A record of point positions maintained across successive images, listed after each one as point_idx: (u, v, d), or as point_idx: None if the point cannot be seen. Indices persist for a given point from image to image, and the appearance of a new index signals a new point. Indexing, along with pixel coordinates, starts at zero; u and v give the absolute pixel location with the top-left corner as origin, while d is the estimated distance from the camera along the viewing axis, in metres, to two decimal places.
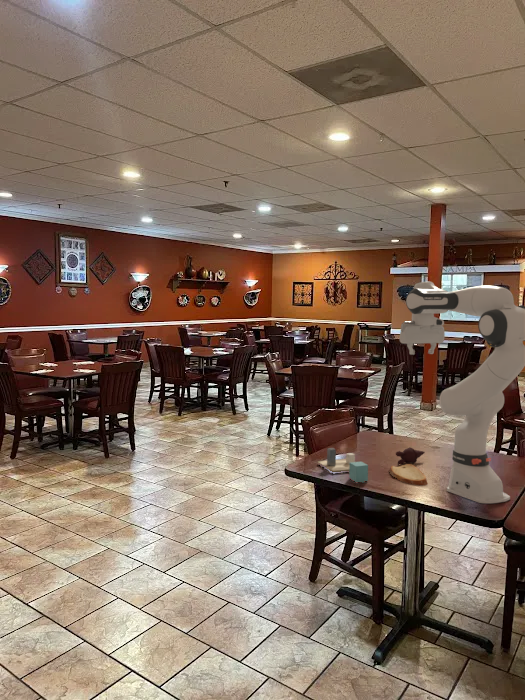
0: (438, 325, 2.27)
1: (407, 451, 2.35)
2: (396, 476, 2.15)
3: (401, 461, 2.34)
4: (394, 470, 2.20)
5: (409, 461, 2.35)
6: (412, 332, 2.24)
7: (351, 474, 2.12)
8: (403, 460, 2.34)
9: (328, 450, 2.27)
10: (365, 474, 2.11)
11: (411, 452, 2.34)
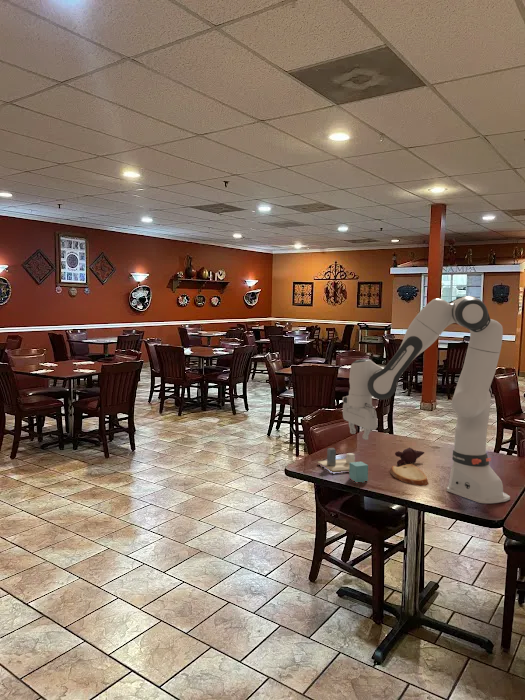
0: None
1: (406, 451, 2.35)
2: (397, 476, 2.15)
3: (400, 461, 2.34)
4: (395, 470, 2.20)
5: (408, 461, 2.34)
6: None
7: (351, 474, 2.12)
8: (402, 460, 2.34)
9: (328, 450, 2.27)
10: (365, 474, 2.11)
11: (410, 453, 2.34)
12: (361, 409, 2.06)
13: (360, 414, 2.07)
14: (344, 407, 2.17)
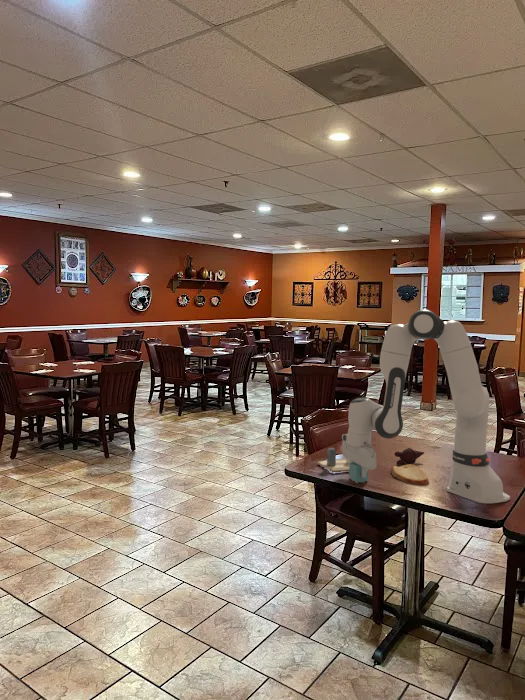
0: None
1: (406, 451, 2.35)
2: (398, 476, 2.15)
3: (400, 461, 2.33)
4: (396, 470, 2.20)
5: (408, 461, 2.34)
6: None
7: (351, 474, 2.12)
8: (402, 460, 2.34)
9: (328, 450, 2.27)
10: None
11: (410, 453, 2.34)
12: (360, 448, 2.07)
13: (359, 453, 2.08)
14: (343, 444, 2.19)
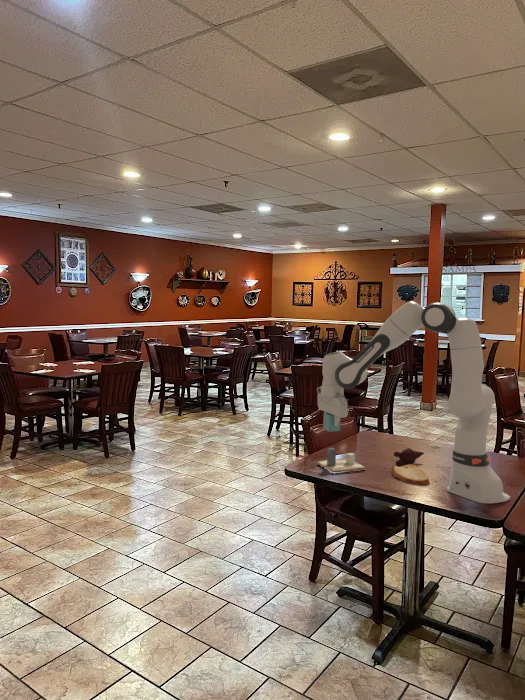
0: None
1: (405, 452, 2.34)
2: (398, 476, 2.15)
3: (399, 461, 2.33)
4: (396, 470, 2.20)
5: (407, 462, 2.34)
6: None
7: (325, 424, 2.26)
8: (401, 461, 2.34)
9: (328, 450, 2.27)
10: None
11: (409, 453, 2.33)
12: (333, 398, 2.21)
13: (332, 403, 2.22)
14: (319, 397, 2.32)
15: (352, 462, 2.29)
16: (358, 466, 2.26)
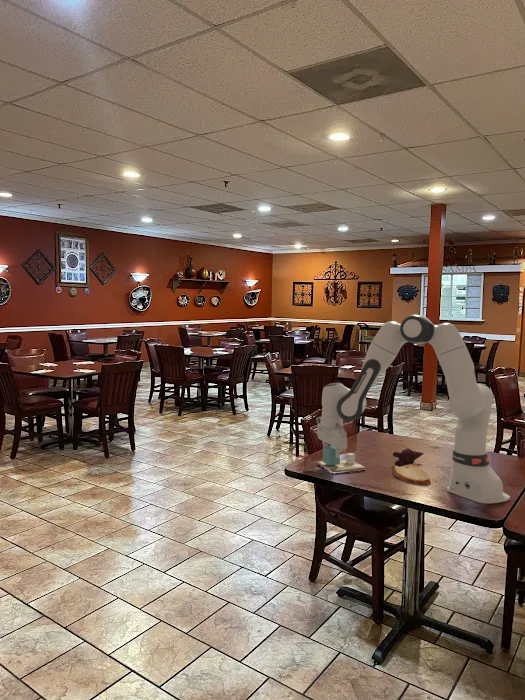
0: None
1: (404, 452, 2.34)
2: (399, 476, 2.15)
3: (398, 462, 2.33)
4: (397, 470, 2.20)
5: (406, 462, 2.33)
6: None
7: (324, 457, 2.27)
8: (400, 461, 2.33)
9: None
10: None
11: (408, 453, 2.33)
12: (332, 429, 2.22)
13: (332, 434, 2.23)
14: (318, 427, 2.33)
15: (352, 462, 2.29)
16: (358, 466, 2.26)
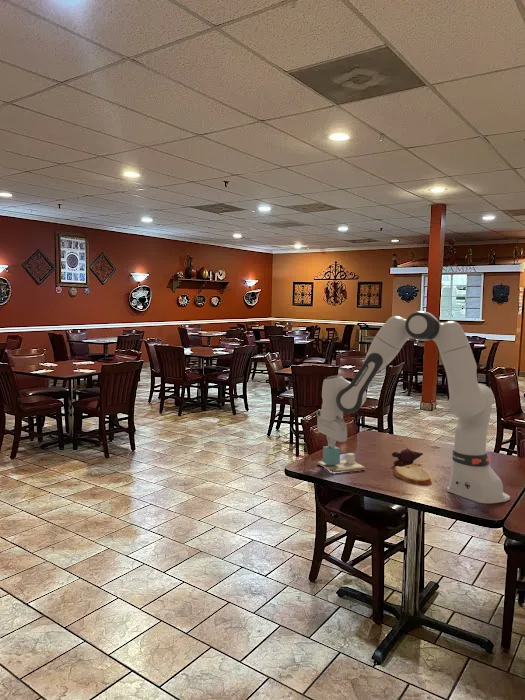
0: None
1: (404, 452, 2.34)
2: (400, 476, 2.15)
3: (397, 462, 2.33)
4: (398, 470, 2.20)
5: (405, 462, 2.33)
6: None
7: (324, 457, 2.27)
8: (399, 461, 2.33)
9: None
10: (337, 457, 2.25)
11: (407, 453, 2.33)
12: (333, 422, 2.21)
13: (332, 427, 2.23)
14: (318, 420, 2.33)
15: (352, 462, 2.29)
16: (358, 466, 2.26)
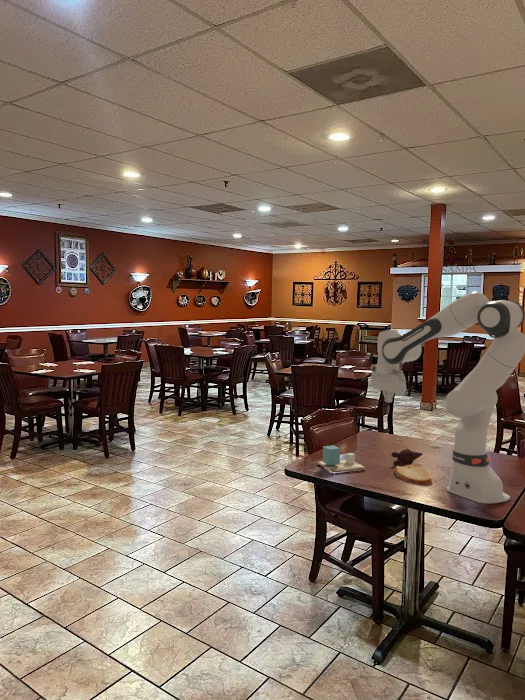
0: None
1: (403, 452, 2.33)
2: (401, 476, 2.15)
3: (396, 462, 2.32)
4: (399, 470, 2.20)
5: (405, 462, 2.33)
6: None
7: (324, 457, 2.27)
8: (399, 461, 2.33)
9: None
10: (337, 457, 2.25)
11: (407, 454, 2.32)
12: (390, 375, 2.21)
13: (389, 380, 2.22)
14: (373, 376, 2.32)
15: (352, 462, 2.29)
16: (358, 466, 2.26)
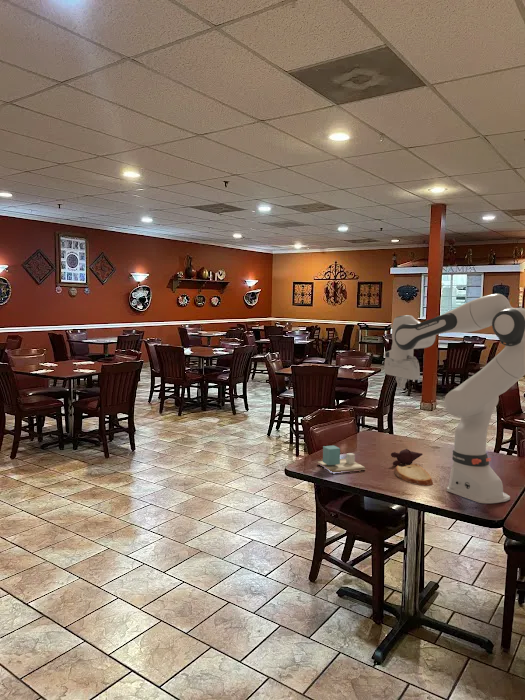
0: None
1: (403, 452, 2.33)
2: (401, 476, 2.15)
3: (396, 462, 2.32)
4: (399, 470, 2.20)
5: (404, 462, 2.33)
6: None
7: (324, 457, 2.27)
8: (398, 461, 2.33)
9: None
10: (337, 457, 2.25)
11: (406, 454, 2.32)
12: (404, 361, 2.20)
13: (403, 366, 2.22)
14: (386, 362, 2.32)
15: (352, 462, 2.29)
16: (358, 466, 2.26)
